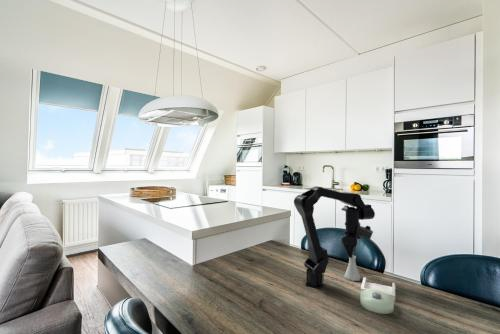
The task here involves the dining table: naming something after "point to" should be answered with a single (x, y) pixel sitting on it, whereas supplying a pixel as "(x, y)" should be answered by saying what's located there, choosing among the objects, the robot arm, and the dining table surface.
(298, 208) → the robot arm
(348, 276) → the flask
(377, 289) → the white tub with tabs
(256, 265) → the dining table surface
